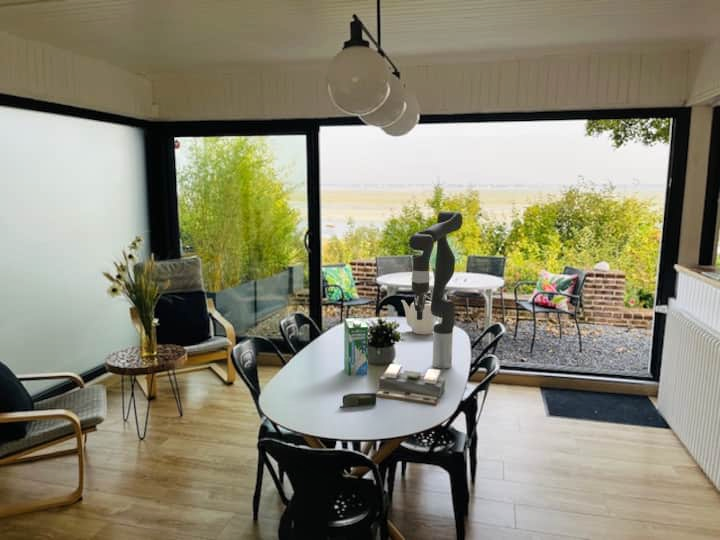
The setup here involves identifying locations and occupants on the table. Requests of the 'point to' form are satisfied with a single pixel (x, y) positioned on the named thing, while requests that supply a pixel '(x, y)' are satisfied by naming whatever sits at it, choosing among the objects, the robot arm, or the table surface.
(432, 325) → the watering can
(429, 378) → the cream box
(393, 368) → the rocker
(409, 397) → the switch box
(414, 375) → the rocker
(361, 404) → the mobile phone
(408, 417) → the table surface
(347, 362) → the milk carton
